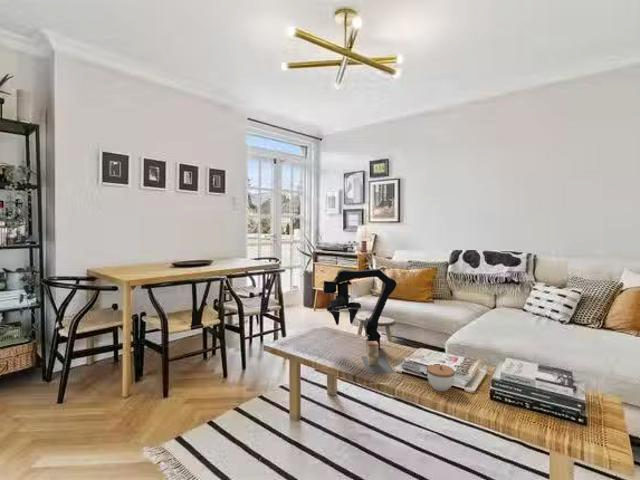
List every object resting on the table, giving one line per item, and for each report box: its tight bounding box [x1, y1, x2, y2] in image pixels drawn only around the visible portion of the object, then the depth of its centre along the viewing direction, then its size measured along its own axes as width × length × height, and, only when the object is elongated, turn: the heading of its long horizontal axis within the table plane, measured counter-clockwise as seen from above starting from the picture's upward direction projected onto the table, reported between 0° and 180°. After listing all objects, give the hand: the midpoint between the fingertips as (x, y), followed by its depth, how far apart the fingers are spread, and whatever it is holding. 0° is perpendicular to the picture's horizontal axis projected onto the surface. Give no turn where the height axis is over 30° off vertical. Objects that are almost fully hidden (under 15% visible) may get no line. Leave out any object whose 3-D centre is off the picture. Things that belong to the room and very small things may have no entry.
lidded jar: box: [426, 364, 456, 392], centre depth 150 cm, size 11×11×9 cm
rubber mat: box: [360, 355, 396, 375], centre depth 173 cm, size 12×20×1 cm, turn 4°
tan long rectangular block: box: [366, 341, 379, 365], centre depth 174 cm, size 4×4×10 cm
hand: (344, 324), depth 186 cm, fingers open, 9 cm apart
